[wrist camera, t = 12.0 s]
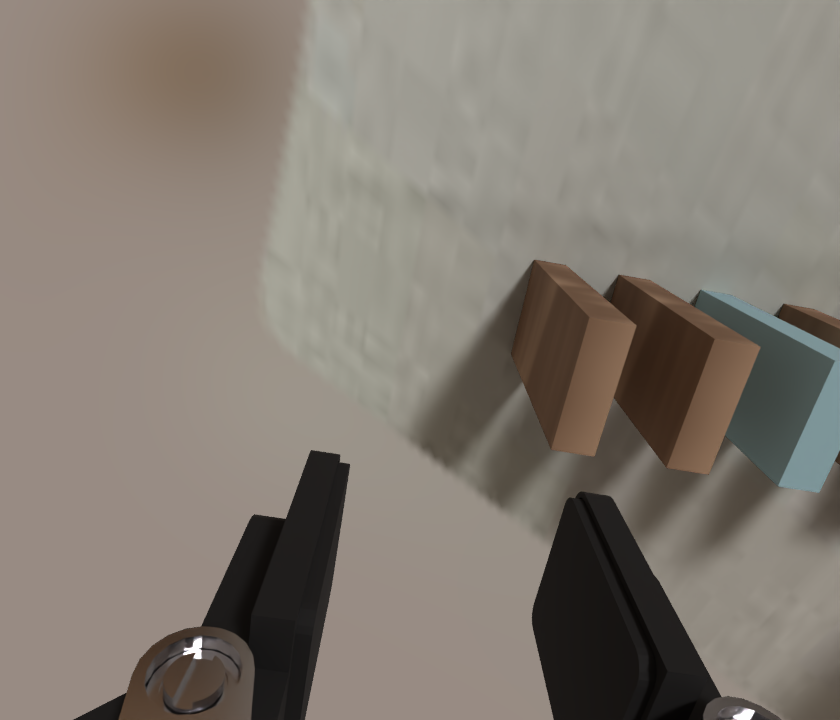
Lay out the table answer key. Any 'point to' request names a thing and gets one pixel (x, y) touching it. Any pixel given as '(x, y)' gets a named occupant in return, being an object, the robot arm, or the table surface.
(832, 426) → the domino
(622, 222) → the table surface
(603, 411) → the domino
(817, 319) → the domino
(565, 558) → the robot arm
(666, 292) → the domino
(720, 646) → the table surface
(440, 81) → the table surface
